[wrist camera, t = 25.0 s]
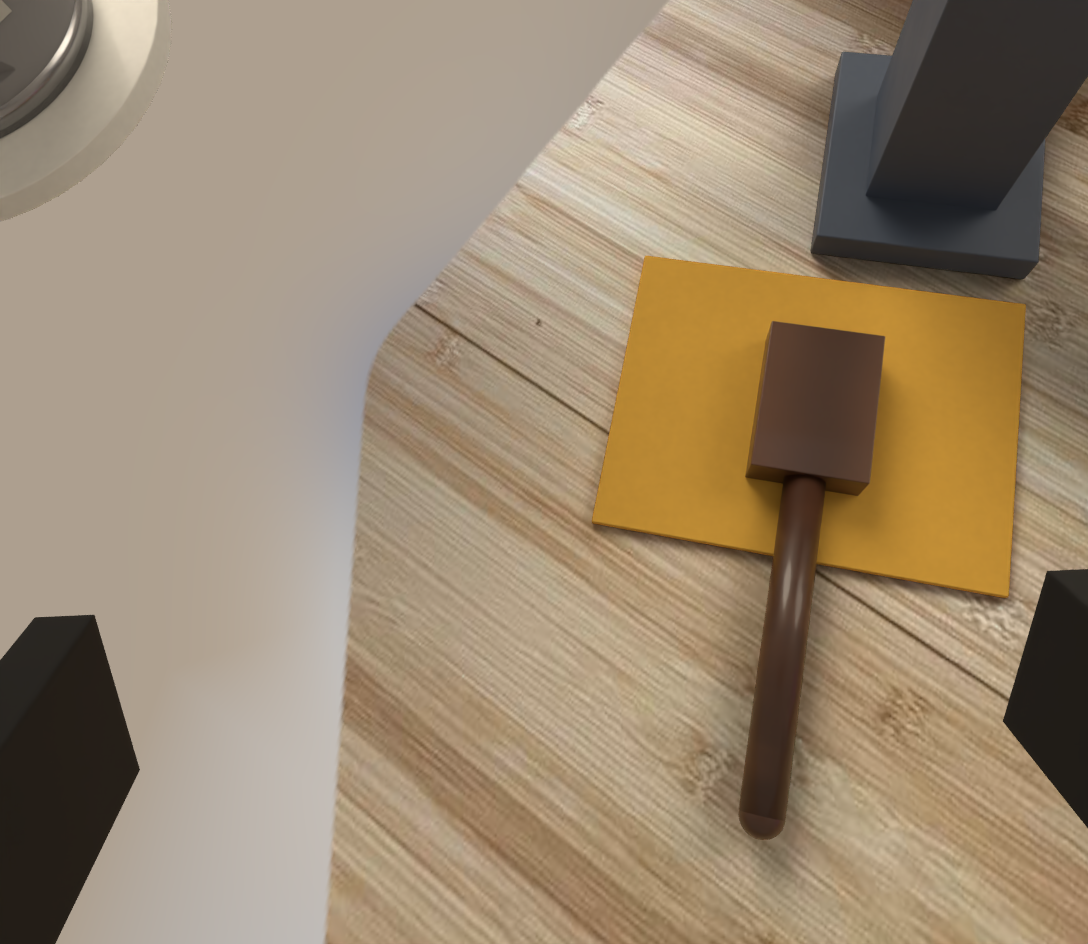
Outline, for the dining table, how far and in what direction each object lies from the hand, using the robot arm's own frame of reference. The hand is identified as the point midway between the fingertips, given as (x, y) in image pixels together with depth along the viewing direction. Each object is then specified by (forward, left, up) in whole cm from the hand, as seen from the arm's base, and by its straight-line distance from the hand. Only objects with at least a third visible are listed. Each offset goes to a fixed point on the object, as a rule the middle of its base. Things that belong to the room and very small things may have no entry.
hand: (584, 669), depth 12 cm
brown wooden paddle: (+6, +7, -25) cm, 27 cm away
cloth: (+6, +15, -26) cm, 30 cm away
